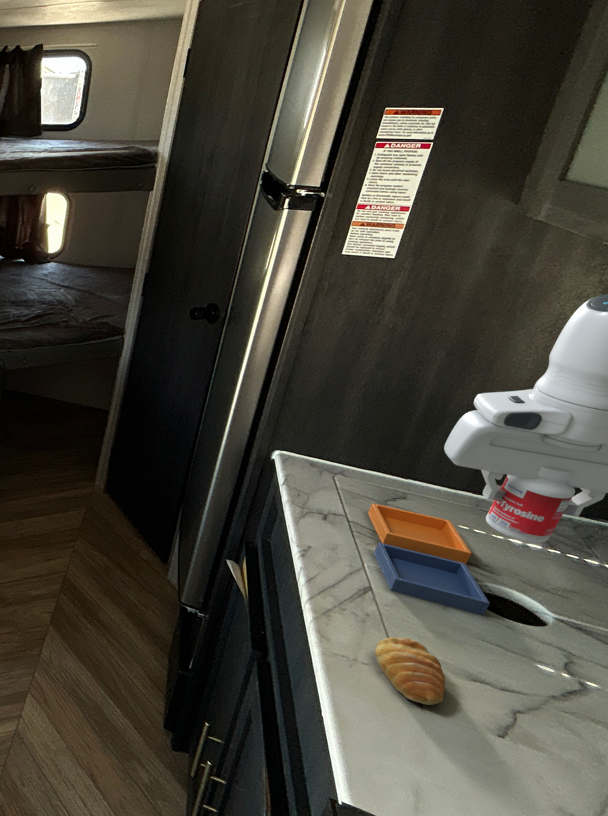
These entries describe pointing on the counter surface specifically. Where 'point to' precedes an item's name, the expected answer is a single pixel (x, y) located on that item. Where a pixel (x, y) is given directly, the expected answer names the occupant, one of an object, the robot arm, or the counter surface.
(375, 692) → the counter surface
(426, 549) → the amber tray
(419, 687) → the pastry
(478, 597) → the blue tray
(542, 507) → the pill bottle
